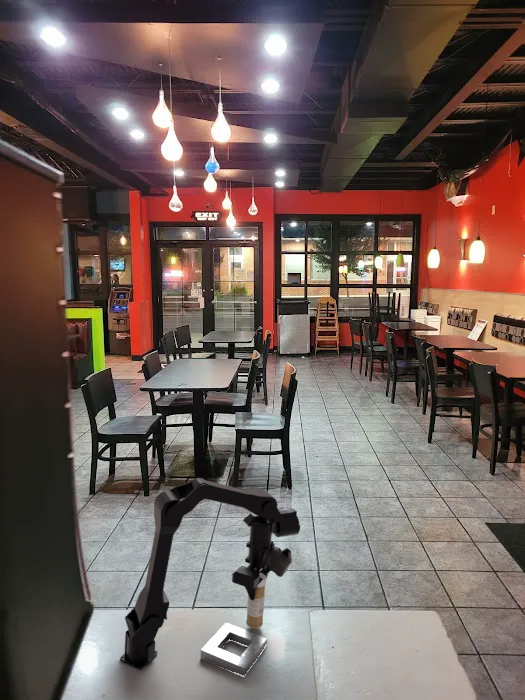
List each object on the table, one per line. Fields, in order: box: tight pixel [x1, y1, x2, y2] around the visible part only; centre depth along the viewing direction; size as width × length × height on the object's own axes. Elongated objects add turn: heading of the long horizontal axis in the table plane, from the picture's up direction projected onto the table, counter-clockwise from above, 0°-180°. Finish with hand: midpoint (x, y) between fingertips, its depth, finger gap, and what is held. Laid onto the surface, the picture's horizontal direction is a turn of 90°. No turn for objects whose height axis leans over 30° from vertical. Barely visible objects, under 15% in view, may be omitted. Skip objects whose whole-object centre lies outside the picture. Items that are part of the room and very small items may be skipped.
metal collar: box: [200, 622, 268, 676], centre depth 122 cm, size 12×12×2 cm
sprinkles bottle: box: [245, 573, 267, 629], centre depth 131 cm, size 5×5×13 cm
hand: (256, 595), depth 131 cm, fingers closed on sprinkles bottle, 4 cm apart
